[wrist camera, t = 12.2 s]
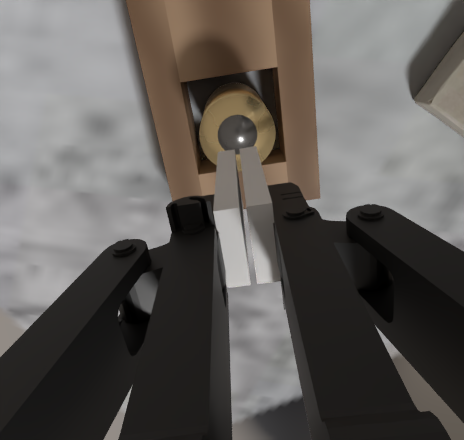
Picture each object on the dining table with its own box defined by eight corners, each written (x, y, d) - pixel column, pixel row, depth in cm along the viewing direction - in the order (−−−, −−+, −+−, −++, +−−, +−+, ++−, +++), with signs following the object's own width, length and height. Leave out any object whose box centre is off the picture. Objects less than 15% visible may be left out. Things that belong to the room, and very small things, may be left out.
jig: (291, -126, 26) (301, -153, 22) (310, 181, 35) (320, 198, 31) (116, -93, 26) (99, -115, 23) (181, 200, 35) (176, 218, 32)
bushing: (260, 78, 31) (271, 89, 24) (266, 138, 33) (278, 166, 26) (200, 87, 31) (192, 101, 24) (210, 146, 33) (206, 176, 26)
